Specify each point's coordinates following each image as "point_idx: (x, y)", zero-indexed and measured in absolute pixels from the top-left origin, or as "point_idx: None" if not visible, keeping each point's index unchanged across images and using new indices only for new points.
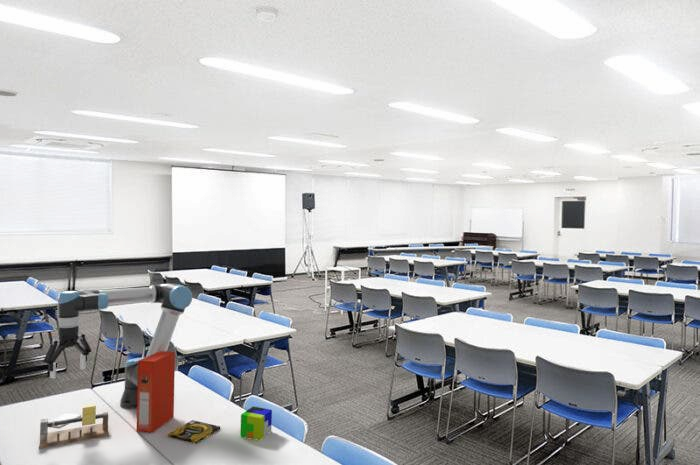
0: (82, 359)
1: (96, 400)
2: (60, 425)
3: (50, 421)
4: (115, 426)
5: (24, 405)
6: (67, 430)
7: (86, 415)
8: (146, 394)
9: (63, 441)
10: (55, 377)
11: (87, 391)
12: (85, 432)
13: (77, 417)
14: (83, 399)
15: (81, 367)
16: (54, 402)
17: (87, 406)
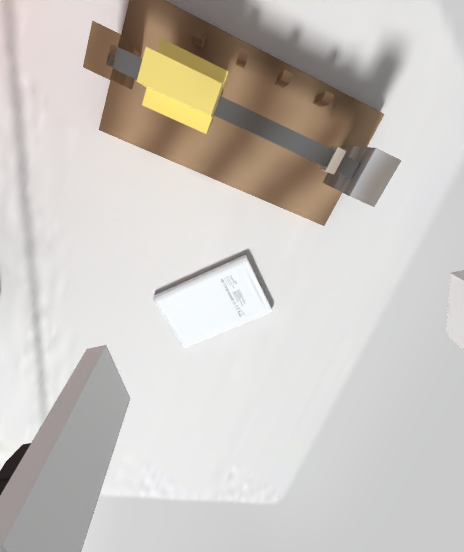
0: (67, 486)
1: None
2: (242, 258)
3: (251, 317)
4: (76, 82)
5: (244, 483)
6: (249, 180)
7: (207, 62)
8: None
9: (307, 75)
10: (458, 277)
11: None
12: None
13: (169, 290)
14: None
15: (116, 396)
16: (176, 457)
17: (189, 86)
